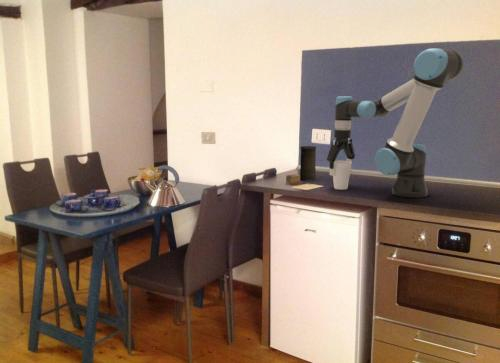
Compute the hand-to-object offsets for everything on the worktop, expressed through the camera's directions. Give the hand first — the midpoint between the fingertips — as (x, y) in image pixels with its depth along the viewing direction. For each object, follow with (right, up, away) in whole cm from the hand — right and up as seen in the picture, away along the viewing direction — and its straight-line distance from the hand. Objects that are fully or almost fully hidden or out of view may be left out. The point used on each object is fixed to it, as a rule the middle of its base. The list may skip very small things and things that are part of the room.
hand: (340, 173), depth 222 cm
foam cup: (0, -7, +1) cm, 7 cm away
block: (-22, -6, +11) cm, 25 cm away
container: (-13, -3, +24) cm, 28 cm away
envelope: (-15, -6, +5) cm, 17 cm away
